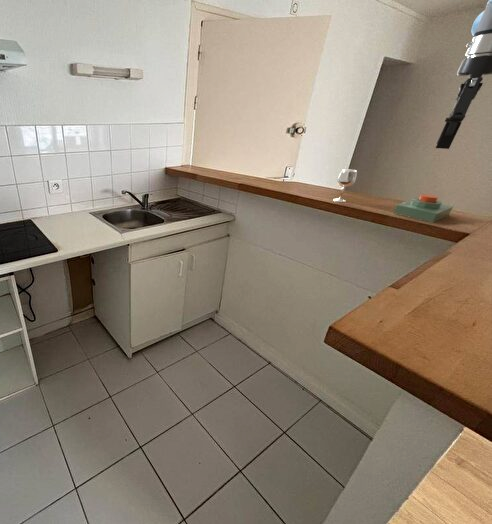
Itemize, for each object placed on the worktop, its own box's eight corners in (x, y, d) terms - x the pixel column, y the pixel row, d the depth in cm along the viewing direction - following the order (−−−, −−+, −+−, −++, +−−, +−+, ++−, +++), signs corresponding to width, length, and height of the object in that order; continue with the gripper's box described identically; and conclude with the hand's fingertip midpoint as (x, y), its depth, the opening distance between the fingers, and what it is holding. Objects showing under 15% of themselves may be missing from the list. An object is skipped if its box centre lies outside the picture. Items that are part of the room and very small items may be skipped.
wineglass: (335, 202, 112) (346, 171, 106) (328, 198, 117) (338, 168, 111) (350, 202, 112) (362, 171, 106) (342, 198, 117) (353, 168, 111)
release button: (421, 199, 100) (424, 193, 99) (437, 202, 97) (440, 196, 96) (416, 201, 98) (418, 195, 97) (432, 204, 95) (435, 198, 94)
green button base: (410, 207, 107) (416, 194, 104) (448, 215, 99) (456, 201, 96) (392, 213, 101) (399, 199, 98) (432, 222, 92) (440, 208, 90)
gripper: (462, 62, 82) (427, 141, 92) (465, 52, 66) (422, 149, 76) (500, 59, 77) (459, 143, 87) (514, 48, 61) (462, 151, 72)
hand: (442, 146), depth 82 cm, fingers open, 13 cm apart
